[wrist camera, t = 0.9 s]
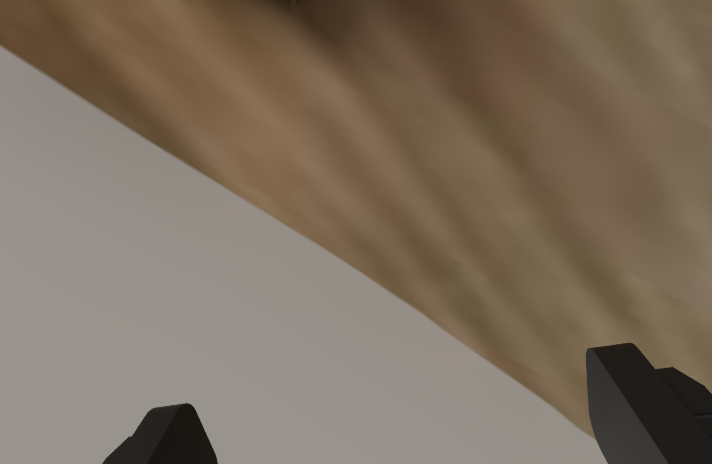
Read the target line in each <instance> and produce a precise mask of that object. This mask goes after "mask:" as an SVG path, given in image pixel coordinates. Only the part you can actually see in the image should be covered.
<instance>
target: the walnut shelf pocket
mask: <svg viewBox="0 0 712 464" xmlns="http://www.w3.org/2000/svg"><path fill="white" fill-rule="evenodd" d="M283 1H285V2H287V3H289V4H291V5H293V6H295V4H296V2H297V0H283Z"/></svg>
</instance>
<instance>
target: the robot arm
mask: <svg viewBox="0 0 712 464" xmlns="http://www.w3.org/2000/svg"><path fill="white" fill-rule="evenodd" d="M586 369H587V386H588V404H589V415H590V420H591V425H592V428H593V432H594V435H595V438H596V440H597V443H598V445H599V447H600V449H601V451H602V453H603V455H604V457H605V459H606V461H607V462H608V464H712V394H711V393H710V392H709V391H708V389H707V388H706V387H705V386H704V385H702V384H700V383H698V382H697V381H695V380H693V379H692V378H690V377H688V376H687V375H685V374H683V373H682V372H680V371H678V370H677V369H675V368H673V367H670V368H663V369H654V367H653V366H652V365H651V364H650V362H649V361H648V360H647V359H646V358H645V356H644V355H643V354H642V353H641V351H640V350H639V349H638V348H637V347H636V346H635V345H634V344H632V343H624V344H617V345H610V346H602V347H595V348H589V349H587V352H586ZM103 464H218V463H217V458H216V455H215V452H214V450H213V448H212V446H211V443H210V441H209V439H208V437H207V435H206V432H205V430H204V428H203V426H202V423H201V421H200V419H199V417H198V415H197V412H196V410H195V408H194V407H193V406H192V405H191V404H187V403H186V404H178V405H171V406H164V407H157V408H153V409H151V410H150V411H149V412H148V413H147V414H146V416H145V417H144V419H143V420H142V422H141V424H140V425H139V426H138V428H137V430H136V431H135V433H134V434H133V436H132V437H128V438H127V439H126V440H125V441H124V442H123V443H122V444H121V445H120V446H119V447H118V448H117V449H115V450H114V451H113V452H112V453H111V454H110V455H109V456H108V457H107V458H106V459H105V461H104V462H103Z"/></svg>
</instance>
